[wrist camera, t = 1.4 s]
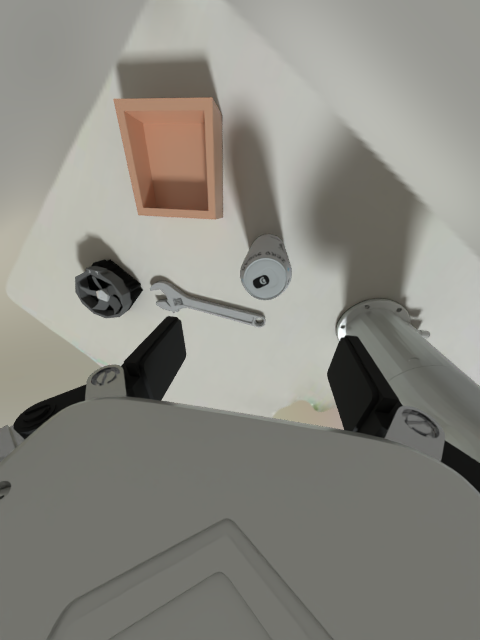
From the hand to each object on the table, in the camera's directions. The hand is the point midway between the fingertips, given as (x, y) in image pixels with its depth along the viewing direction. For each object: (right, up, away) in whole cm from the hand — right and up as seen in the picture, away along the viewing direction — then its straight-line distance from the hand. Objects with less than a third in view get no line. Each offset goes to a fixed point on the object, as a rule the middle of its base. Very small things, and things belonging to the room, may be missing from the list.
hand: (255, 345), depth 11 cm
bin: (-9, +25, +18) cm, 32 cm away
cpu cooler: (-28, +9, +31) cm, 42 cm away
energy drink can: (+4, +14, +22) cm, 26 cm away
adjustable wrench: (-8, +4, +30) cm, 32 cm away
